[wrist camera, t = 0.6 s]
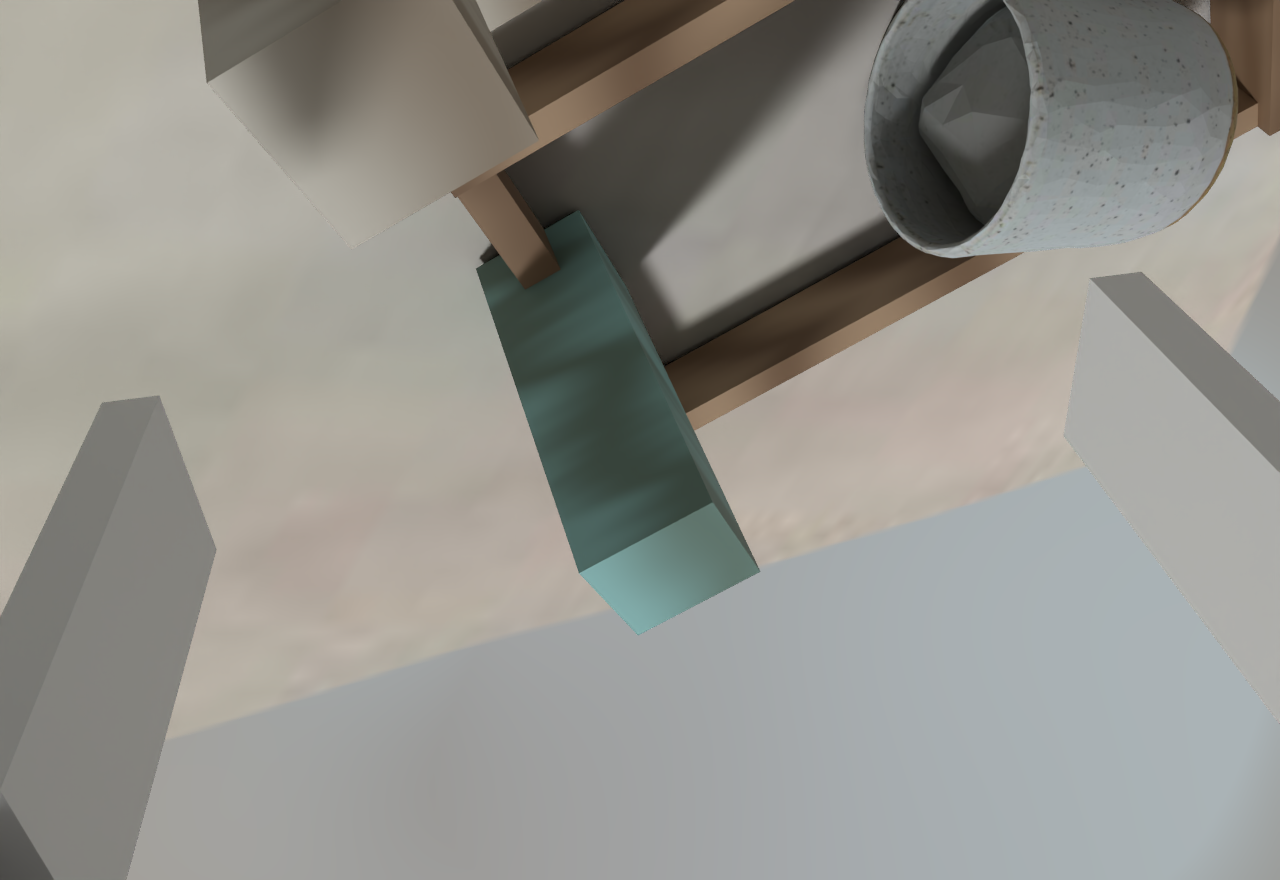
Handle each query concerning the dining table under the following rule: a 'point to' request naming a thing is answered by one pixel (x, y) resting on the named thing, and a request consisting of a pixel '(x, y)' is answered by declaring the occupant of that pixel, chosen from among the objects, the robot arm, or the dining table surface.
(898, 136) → the ceramic mug
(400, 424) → the dining table surface
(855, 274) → the brown open boxy piece
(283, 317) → the dining table surface
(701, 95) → the dining table surface
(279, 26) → the block
